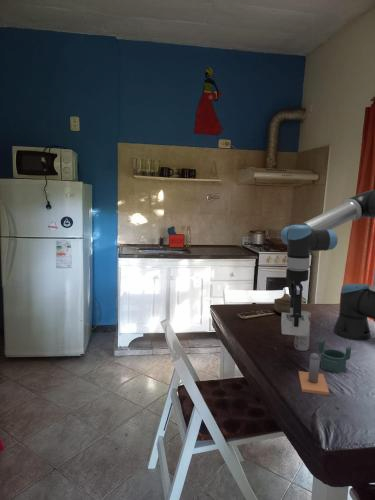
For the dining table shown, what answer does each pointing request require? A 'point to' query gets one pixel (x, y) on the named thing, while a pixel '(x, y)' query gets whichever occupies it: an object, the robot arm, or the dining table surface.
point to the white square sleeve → (287, 324)
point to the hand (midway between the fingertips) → (294, 329)
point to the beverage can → (303, 337)
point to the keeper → (313, 378)
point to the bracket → (333, 358)
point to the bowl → (283, 304)
